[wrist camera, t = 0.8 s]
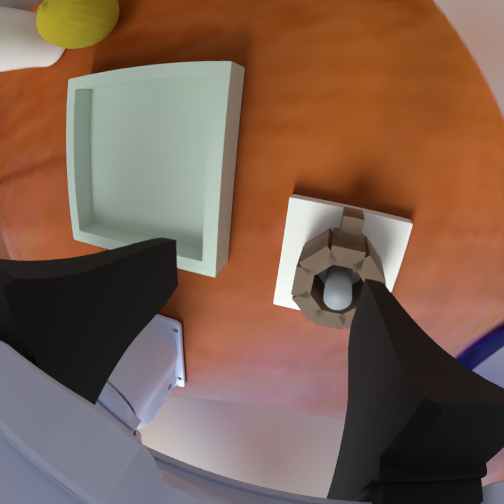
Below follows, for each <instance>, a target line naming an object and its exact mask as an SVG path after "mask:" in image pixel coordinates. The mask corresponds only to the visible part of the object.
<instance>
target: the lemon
mask: <svg viewBox="0 0 504 504" xmlns="http://www.w3.org/2000/svg"><path fill="white" fill-rule="evenodd" d="M119 12H120V11H119V3H118V1H117V0H44V1H43V2H42V4H41V5H40V6H39V7H38V9H37V16H36V26H37V30H38V32H39V35H40V36H41V37H42V38H43V39H44V40H45V41H47V42H48V43H50V44H53V45H56V46H59V47H62V48H67V49H76V48H85V47H88V46H91V45H94V44H96V43H98V42H100V41H101V40H103V39H104V38H105V37H106V36H107V35H108V34H109V33H110V32H111V31H112V30H113V28H114V27H115V25H116V23H117V21H118V18H119Z"/></svg>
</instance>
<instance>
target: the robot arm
mask: <svg viewBox="0 0 504 504" xmlns="http://www.w3.org/2000/svg"><path fill="white" fill-rule="evenodd" d="M177 286H178V278H177V249H176V240H173V239H168V238H164V237H162V238H155V239H150V240H145V241H141V242H137V243H134V244H130V245H126V246H123V247H119V248H115V249H111V250H107V251H103V252H99V253H95V254H90V255H85V256H79V257H73V258H66V259H56V260H44V261H17V260H5V259H0V504H504V481H499V482H494V483H491V484H488V485H486V486H484V487H482V482H481V478H483V477H485V476H486V474H487V467H486V463H487V462H488V461H489V460H490V459H491V458H492V457H493V456H495V455H496V454H497V453H498V452H499V451H500V450H501V449H502V448H503V447H504V388H502V387H500V386H498V385H496V384H494V383H492V382H490V381H488V380H486V379H484V378H483V377H481V376H480V375H478V374H476V373H475V372H473V371H472V370H470V369H469V368H467V367H466V366H464V365H463V364H461V363H460V362H459V361H457V360H456V359H455V358H454V357H452V356H451V355H450V354H448V353H447V352H446V351H445V350H443V349H442V348H441V347H440V346H439V345H438V344H437V343H436V342H434V341H433V340H432V339H431V338H430V337H429V336H428V335H427V334H426V333H425V332H424V331H423V330H422V329H421V328H420V327H419V326H418V325H417V323H416V322H415V321H414V320H413V319H412V318H411V317H410V316H409V314H408V313H407V312H406V311H405V310H404V308H403V307H402V306H401V305H400V304H399V302H398V301H397V300H396V298H395V297H394V296H393V295H392V293H391V292H390V291H389V290H388V288H387V287H386V286H385V285H384V284H383V283H382V282H381V281H376V280H371V279H366V278H365V281H364V284H363V288H362V291H361V294H360V298H359V301H358V304H357V307H356V311H355V314H354V317H353V320H352V323H351V328H350V337H349V346H348V405H347V413H346V419H345V426H344V431H343V436H342V441H341V446H340V451H339V455H338V460H337V464H336V468H335V472H334V476H333V479H332V483H331V486H330V489H329V493H328V496H327V499H325V498H317V497H311V496H304V495H298V494H293V493H288V492H283V491H277V490H273V489H269V488H264V487H260V486H256V485H252V484H248V483H245V482H241V481H238V480H234V479H231V478H227V477H224V476H221V475H218V474H215V473H212V472H209V471H205V470H203V469H200V468H197V467H194V466H192V465H189V464H186V463H184V462H182V461H179V460H176V459H174V458H172V457H169V456H167V455H165V454H162V453H160V452H158V451H155V450H153V449H151V448H149V447H147V446H144V445H143V444H142V441H141V433H140V432H139V431H138V430H137V429H139V428H142V427H144V426H146V425H148V424H149V423H150V422H151V421H152V420H153V419H154V417H155V416H156V414H157V413H158V411H159V410H160V408H161V406H162V405H163V404H164V402H165V401H166V399H167V398H168V396H169V395H170V393H171V391H172V390H173V388H174V387H175V385H178V386H181V387H184V386H185V384H186V381H185V368H184V355H183V340H182V325H181V323H180V322H179V321H177V320H174V319H171V318H168V317H165V316H162V315H159V314H157V313H158V312H159V311H160V310H161V309H162V308H163V306H164V305H165V304H166V303H167V301H168V300H169V298H170V297H171V295H172V294H173V292H174V290H175V289H176V287H177ZM176 329H177V330H176Z"/></svg>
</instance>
